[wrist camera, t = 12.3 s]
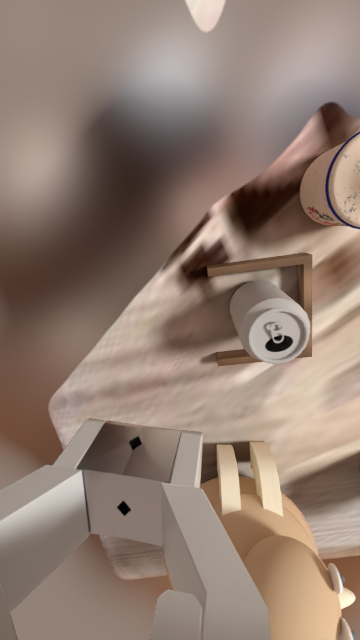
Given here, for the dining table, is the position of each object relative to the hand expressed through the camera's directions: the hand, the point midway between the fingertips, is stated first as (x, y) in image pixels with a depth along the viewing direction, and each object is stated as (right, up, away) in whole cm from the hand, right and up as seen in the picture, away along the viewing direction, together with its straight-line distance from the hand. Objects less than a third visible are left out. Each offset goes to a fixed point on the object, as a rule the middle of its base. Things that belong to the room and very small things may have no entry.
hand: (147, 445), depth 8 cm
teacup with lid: (+21, +19, +28) cm, 40 cm away
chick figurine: (+10, -27, +45) cm, 53 cm away
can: (+12, +5, +34) cm, 36 cm away
